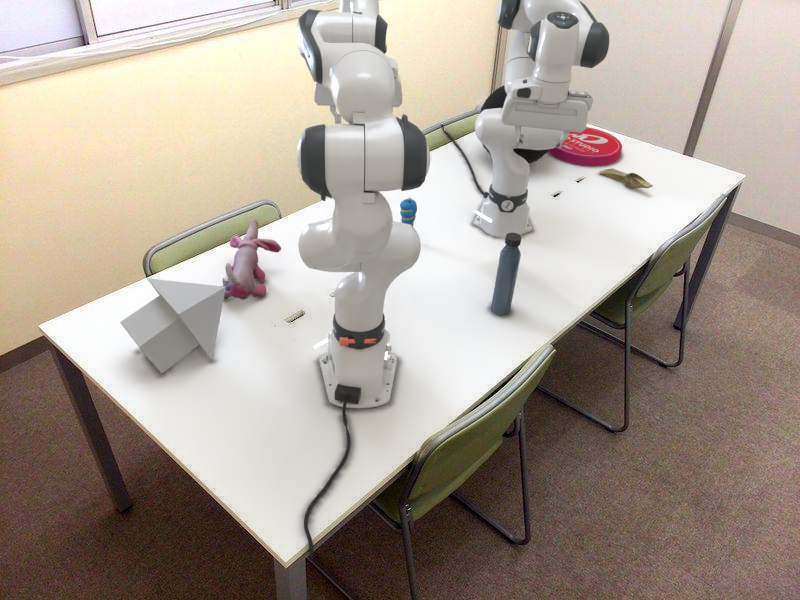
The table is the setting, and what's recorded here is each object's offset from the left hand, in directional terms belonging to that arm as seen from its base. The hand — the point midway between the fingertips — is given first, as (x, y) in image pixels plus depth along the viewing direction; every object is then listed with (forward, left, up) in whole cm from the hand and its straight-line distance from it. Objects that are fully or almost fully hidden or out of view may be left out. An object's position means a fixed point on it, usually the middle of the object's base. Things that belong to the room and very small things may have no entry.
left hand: (358, 123), depth 154 cm
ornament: (+24, -16, -48) cm, 56 cm away
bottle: (-11, -39, -48) cm, 63 cm away
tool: (+64, -101, -48) cm, 128 cm away
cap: (-11, -39, -25) cm, 47 cm away
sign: (+92, -92, -48) cm, 139 cm away
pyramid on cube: (-25, +42, -48) cm, 68 cm away
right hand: (0, -44, -5) cm, 45 cm away
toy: (+2, +31, -48) cm, 57 cm away
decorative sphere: (+80, -61, -48) cm, 112 cm away
